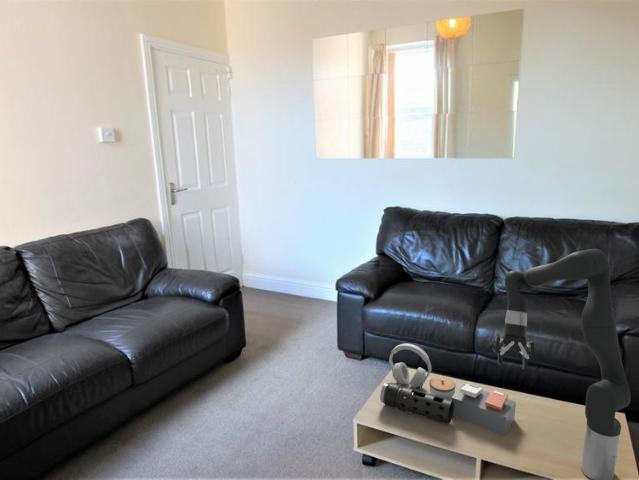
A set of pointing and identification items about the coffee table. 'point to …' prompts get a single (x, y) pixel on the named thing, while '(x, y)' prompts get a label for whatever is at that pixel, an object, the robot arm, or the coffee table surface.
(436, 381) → the lidded jar
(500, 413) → the switch box
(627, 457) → the coffee table surface
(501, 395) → the labelled salmon box
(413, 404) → the muzzle brake
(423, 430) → the coffee table surface
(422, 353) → the headphones
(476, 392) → the white block
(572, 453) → the coffee table surface
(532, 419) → the coffee table surface
